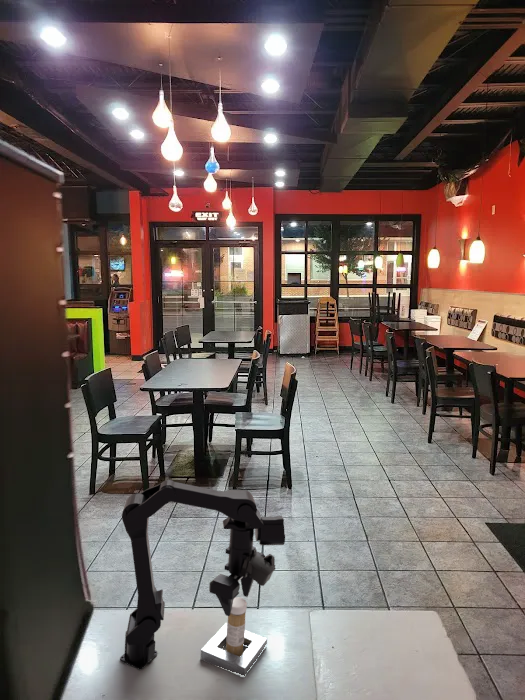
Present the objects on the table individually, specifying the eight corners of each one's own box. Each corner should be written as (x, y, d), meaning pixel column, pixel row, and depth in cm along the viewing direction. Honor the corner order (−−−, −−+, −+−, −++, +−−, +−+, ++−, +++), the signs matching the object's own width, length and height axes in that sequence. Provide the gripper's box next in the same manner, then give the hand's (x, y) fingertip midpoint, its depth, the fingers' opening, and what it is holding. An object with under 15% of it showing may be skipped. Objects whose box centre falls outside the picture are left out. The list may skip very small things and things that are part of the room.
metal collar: (200, 659, 119) (201, 649, 119) (225, 631, 130) (225, 622, 129) (244, 678, 114) (244, 668, 113) (266, 647, 124) (267, 638, 124)
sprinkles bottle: (236, 644, 125) (239, 594, 124) (247, 655, 121) (250, 603, 120) (221, 651, 122) (224, 600, 121) (232, 662, 118) (235, 609, 117)
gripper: (253, 571, 107) (248, 638, 109) (286, 538, 124) (282, 596, 126) (209, 557, 112) (205, 622, 114) (247, 526, 129) (243, 583, 130)
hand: (237, 605), depth 121 cm, fingers open, 9 cm apart
